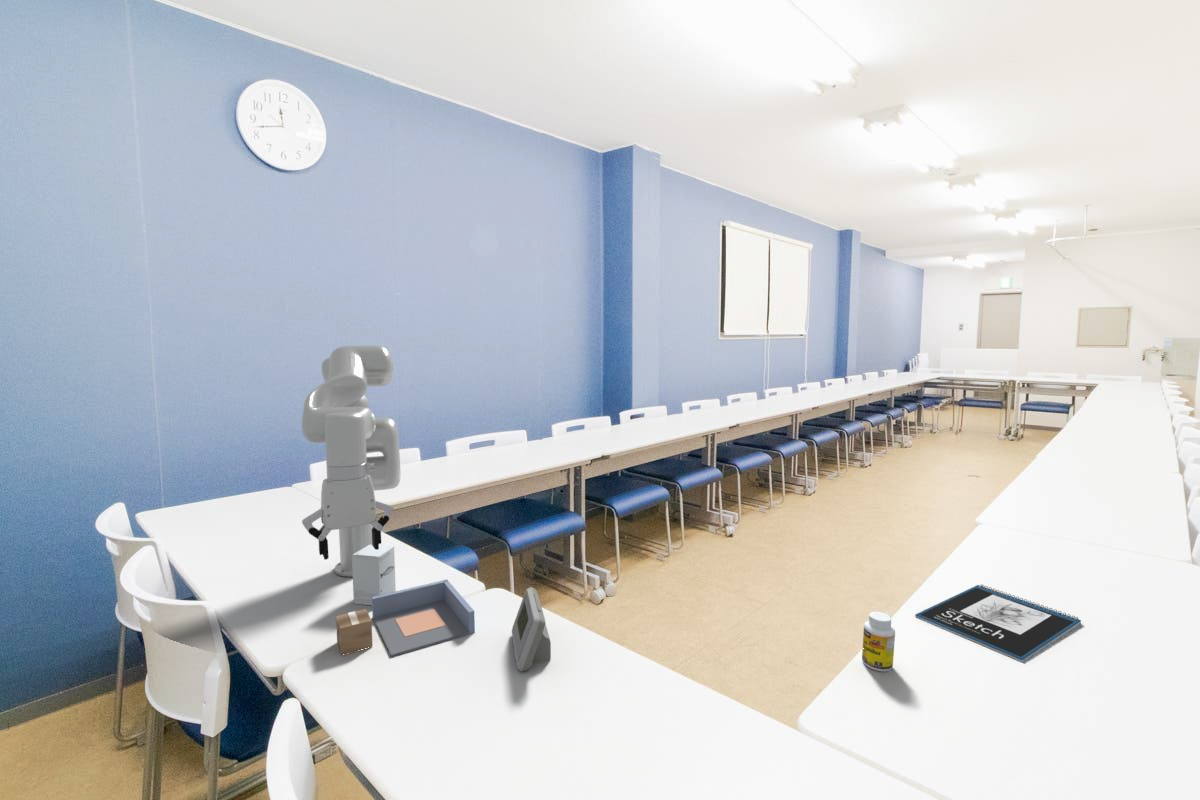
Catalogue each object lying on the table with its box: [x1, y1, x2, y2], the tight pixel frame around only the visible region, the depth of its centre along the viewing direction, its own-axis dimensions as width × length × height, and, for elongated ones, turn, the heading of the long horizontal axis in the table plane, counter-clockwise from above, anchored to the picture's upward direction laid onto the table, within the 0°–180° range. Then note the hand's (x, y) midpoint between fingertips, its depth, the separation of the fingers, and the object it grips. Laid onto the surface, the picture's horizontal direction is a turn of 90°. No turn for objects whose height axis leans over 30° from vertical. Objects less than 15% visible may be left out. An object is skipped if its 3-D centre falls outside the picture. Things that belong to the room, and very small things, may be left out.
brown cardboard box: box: [335, 608, 373, 656], centre depth 118 cm, size 6×6×6 cm
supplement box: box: [352, 544, 397, 606], centre depth 138 cm, size 7×7×13 cm
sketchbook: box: [914, 584, 1082, 663], centre depth 129 cm, size 22×30×2 cm
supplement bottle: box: [861, 611, 896, 672], centre depth 110 cm, size 6×6×10 cm
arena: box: [371, 579, 476, 658], centre depth 126 cm, size 19×18×5 cm
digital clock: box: [511, 586, 552, 672], centre depth 115 cm, size 16×9×11 cm, turn 2°
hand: (351, 552), depth 116 cm, fingers open, 9 cm apart
